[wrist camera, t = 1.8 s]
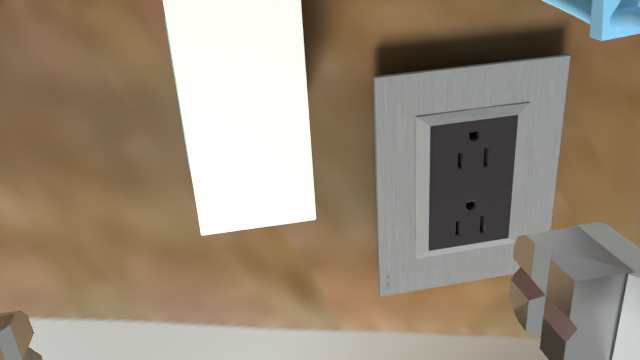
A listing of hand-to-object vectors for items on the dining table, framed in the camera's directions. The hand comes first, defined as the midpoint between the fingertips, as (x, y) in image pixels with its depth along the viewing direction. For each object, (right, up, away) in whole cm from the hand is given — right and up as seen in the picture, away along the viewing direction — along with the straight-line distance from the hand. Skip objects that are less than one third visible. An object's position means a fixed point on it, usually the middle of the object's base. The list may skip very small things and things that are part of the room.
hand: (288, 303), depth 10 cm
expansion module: (-4, +8, +19) cm, 21 cm away
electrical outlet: (+8, +3, +24) cm, 26 cm away
